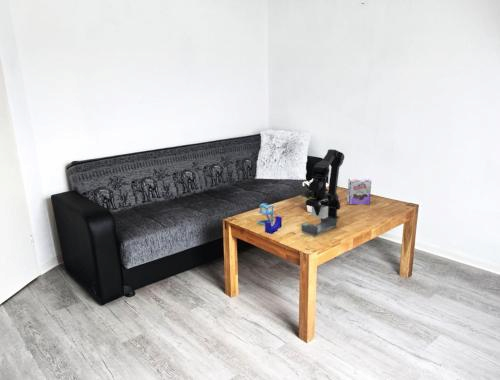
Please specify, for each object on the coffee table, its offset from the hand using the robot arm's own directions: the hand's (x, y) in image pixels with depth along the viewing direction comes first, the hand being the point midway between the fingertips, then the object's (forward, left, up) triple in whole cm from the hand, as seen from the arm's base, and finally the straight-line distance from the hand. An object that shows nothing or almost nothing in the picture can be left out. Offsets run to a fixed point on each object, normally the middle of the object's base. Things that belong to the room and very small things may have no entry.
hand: (319, 214), depth 223 cm
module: (0, 0, -1) cm, 1 cm away
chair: (+13, -28, -9) cm, 32 cm away
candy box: (-54, -9, -9) cm, 55 cm away
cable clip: (+18, -17, -9) cm, 26 cm away
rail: (0, 0, -9) cm, 9 cm away
